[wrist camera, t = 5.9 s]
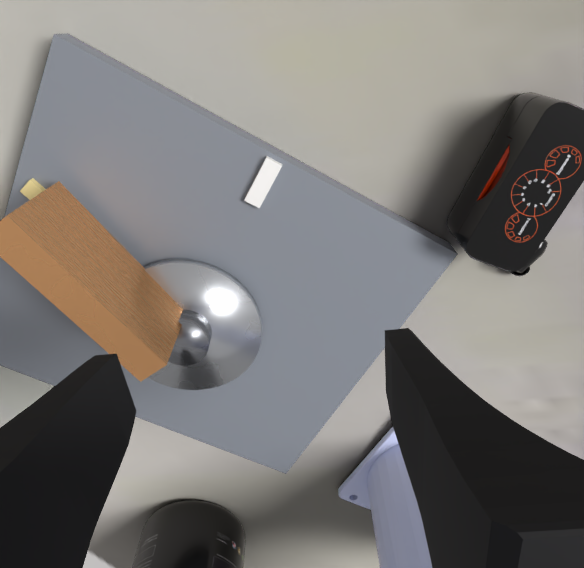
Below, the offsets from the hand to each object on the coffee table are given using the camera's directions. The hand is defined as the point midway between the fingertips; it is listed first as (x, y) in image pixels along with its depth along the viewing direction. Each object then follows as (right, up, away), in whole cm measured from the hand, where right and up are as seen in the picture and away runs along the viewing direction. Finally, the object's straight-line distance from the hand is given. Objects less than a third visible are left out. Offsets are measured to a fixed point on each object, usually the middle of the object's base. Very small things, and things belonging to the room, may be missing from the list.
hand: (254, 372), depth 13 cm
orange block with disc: (-5, +2, +9) cm, 11 cm away
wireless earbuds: (+11, +7, +9) cm, 15 cm away
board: (-3, +2, +11) cm, 11 cm away
